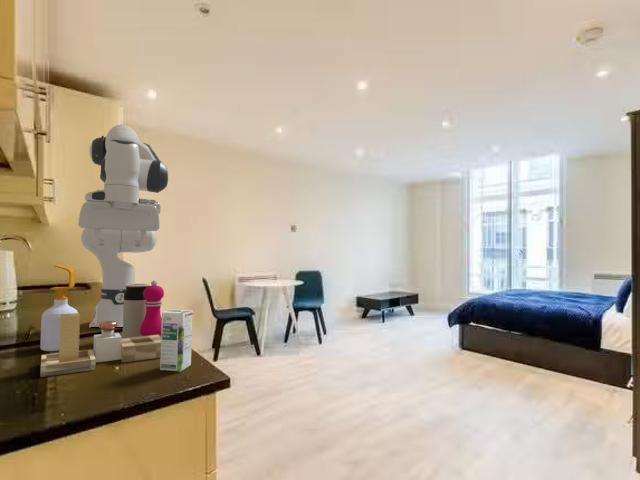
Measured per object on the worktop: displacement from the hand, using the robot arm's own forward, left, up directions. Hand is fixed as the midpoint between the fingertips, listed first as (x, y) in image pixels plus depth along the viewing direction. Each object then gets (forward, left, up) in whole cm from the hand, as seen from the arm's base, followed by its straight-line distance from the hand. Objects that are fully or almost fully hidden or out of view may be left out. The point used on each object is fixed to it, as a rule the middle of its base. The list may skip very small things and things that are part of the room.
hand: (119, 246), depth 108 cm
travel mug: (-18, +8, -31) cm, 36 cm away
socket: (+3, +6, -31) cm, 31 cm away
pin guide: (+2, -2, -31) cm, 31 cm away
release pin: (+2, -2, -30) cm, 30 cm away
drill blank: (+6, -11, -30) cm, 32 cm away
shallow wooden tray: (+6, -11, -31) cm, 33 cm away
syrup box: (+20, +11, -31) cm, 38 cm away
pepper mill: (-8, +11, -31) cm, 34 cm away
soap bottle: (-17, -13, -31) cm, 38 cm away
